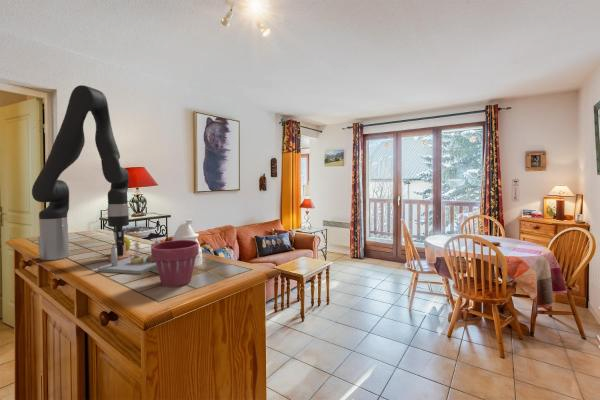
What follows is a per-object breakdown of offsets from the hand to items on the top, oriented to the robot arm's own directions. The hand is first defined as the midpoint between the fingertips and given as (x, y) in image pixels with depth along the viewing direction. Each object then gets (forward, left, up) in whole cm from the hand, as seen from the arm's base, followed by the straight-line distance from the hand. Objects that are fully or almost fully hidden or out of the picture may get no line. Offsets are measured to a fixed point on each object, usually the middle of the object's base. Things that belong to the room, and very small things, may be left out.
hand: (119, 253), depth 126 cm
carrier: (+14, -7, -2) cm, 16 cm away
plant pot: (+40, -21, -3) cm, 45 cm away
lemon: (-6, +9, -3) cm, 11 cm away
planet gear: (0, 0, -2) cm, 2 cm away
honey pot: (+31, -1, -3) cm, 31 cm away
